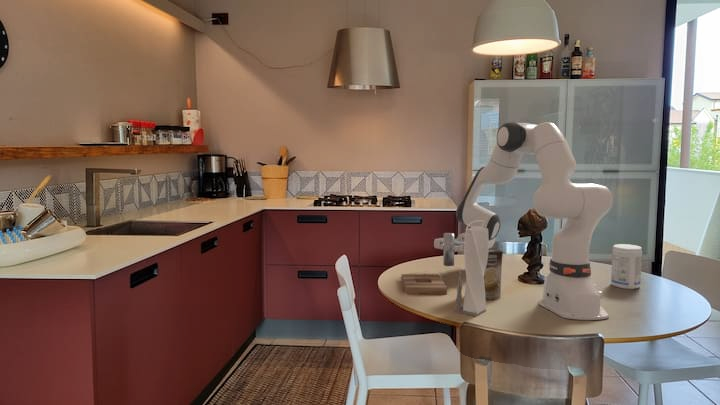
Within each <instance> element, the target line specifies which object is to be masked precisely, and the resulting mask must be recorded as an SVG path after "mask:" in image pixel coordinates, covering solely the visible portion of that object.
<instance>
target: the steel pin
mask: <svg viewBox="0 0 720 405" xmlns="http://www.w3.org/2000/svg"><path fill="white" fill-rule="evenodd" d="M443 238H444V250H443V257H442V258H443V261H442V264H443V266H444V267H454V266H455V251H452V247H453V246H454V239H455V233H454V232H453V233H452V232H444V233H443Z"/></svg>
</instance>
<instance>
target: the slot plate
mask: <svg viewBox="0 0 720 405" xmlns="http://www.w3.org/2000/svg"><path fill="white" fill-rule="evenodd" d="M400 279H401V283H402V286H403V289H404V292H405V294H406V295H448V287H447V284H446V283H445V282H444V280H443V279H442V277H441V276H440V274H439V273H413V274H412V273H409V274H408V273H401V278H400Z"/></svg>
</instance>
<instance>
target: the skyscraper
mask: <svg viewBox="0 0 720 405" xmlns="http://www.w3.org/2000/svg"><path fill="white" fill-rule="evenodd" d="M474 222H483V224H482V227H481V226H472V228H471V227H469V225H470V224H472V223H474ZM484 223H485V221H483V220H476V221H473V222H471V223H469V224H468V226H467V225H466V228H465V231H464V233H465V243H464V255H463V260H464V261H463V262H464V269H465V275H466V281H465V289H464V296H463V297H462V295H463V294H462V289H463V285H462V281H461V280H462V276H461V272H462V271H460V270H459V272H458V273H459V274H458V283H457V284H456V290H457V292H456V299H455V301H456V305H455V306H456V307H455V309H454V313H459V314H463V315H467V316H472V317H477V316H479V315H481V314H483V313H486V311H487V299H486V300H485V287H484V278H483V277H484V273H485V269H486V265H487V260H488V249H489V238H488V229H487V228H483V226H484ZM462 298H463V299H462ZM462 303H463V304H462ZM462 305H463V306H462Z"/></svg>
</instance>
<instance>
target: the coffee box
mask: <svg viewBox="0 0 720 405" xmlns="http://www.w3.org/2000/svg"><path fill="white" fill-rule="evenodd" d="M502 263H503V251H501V250H499V249H496V248H492V247H490V248H489V249H488V260H487V265H486V269H485V273H484V277H483V278H484V287H485V300H486V301H487V300H494V299H495V300H496V299H501V292H502V291H501V288H502V268H503V266H502V265H503V264H502Z"/></svg>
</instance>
